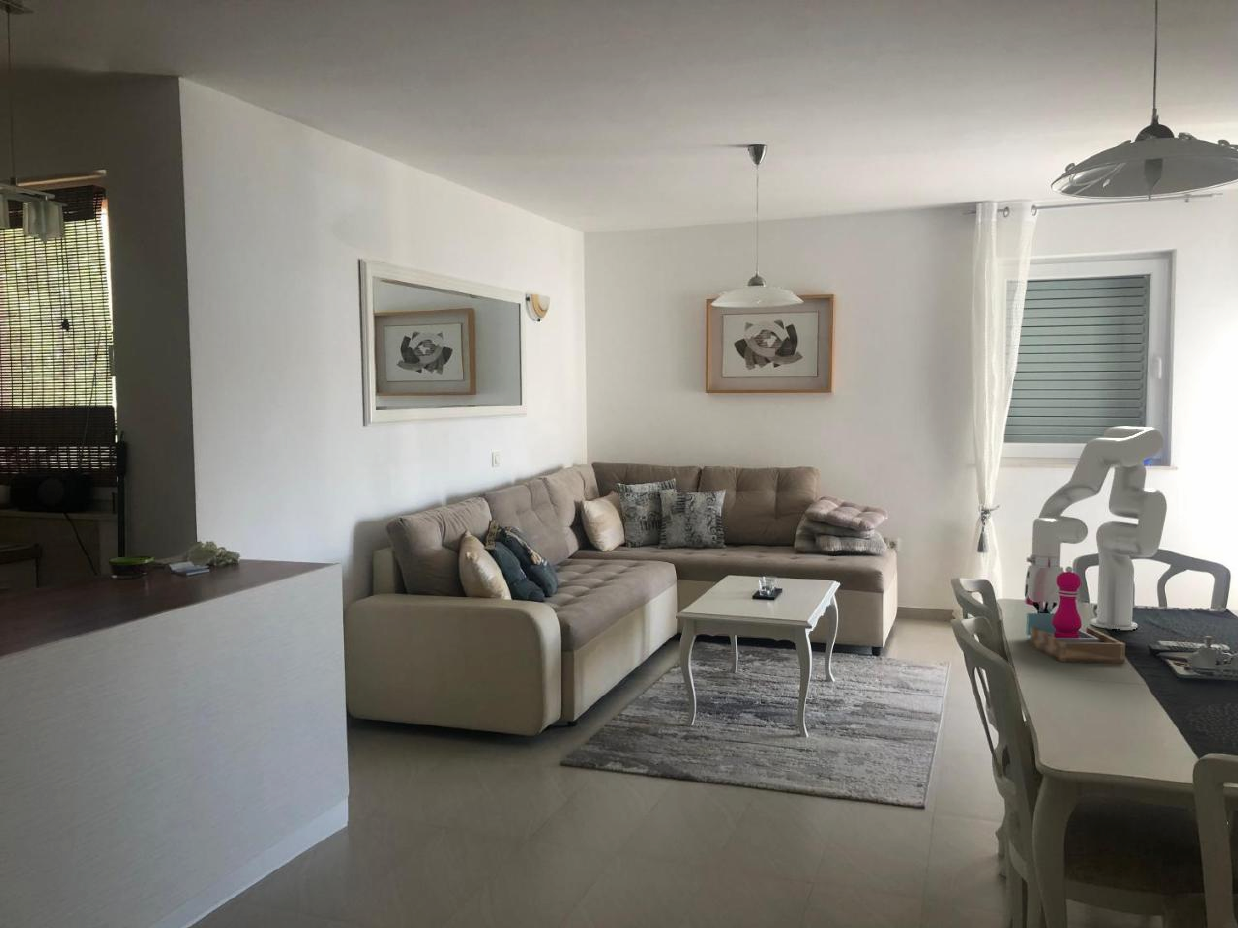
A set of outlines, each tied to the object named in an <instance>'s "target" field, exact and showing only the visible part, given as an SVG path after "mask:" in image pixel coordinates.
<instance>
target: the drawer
mask: <svg viewBox="0 0 1238 928" xmlns="http://www.w3.org/2000/svg"><path fill="white" fill-rule="evenodd" d="M1055 613H1056V612H1054V613H1053V612H1052V613H1051V612H1050V613H1037V612H1033V613H1032V612H1026V635H1027V636H1030V637H1031V631H1032V627H1037V628H1038V629H1040V630H1042V631H1044V632H1046V633H1048V634H1050V635H1052V636H1053V637H1054V632H1055V631H1057V630H1056V628H1055V627H1054V626H1053V618H1054V615H1055ZM1077 633H1079V638H1057V639H1059V640H1061V641H1063V642H1095V643H1100V639H1098V638H1096V637H1094V636H1092V635H1090V634H1088V633H1087V631H1084V630H1081V628H1080V629H1079V630H1078V631H1077Z"/></svg>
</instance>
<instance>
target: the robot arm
mask: <svg viewBox="0 0 1238 928" xmlns="http://www.w3.org/2000/svg"><path fill="white" fill-rule="evenodd" d="M1163 445H1164V436H1163V434H1162V433H1161V431H1160V430H1158V429H1156V428H1154V427H1149V426H1120V425H1119V426H1113V427H1109V428H1107V429H1106V430H1105V431H1104V433H1103V437H1096V438H1092V439H1090V440H1089V441H1088V442H1086V444H1085V446H1084V448H1083V450H1082V452H1081V454H1080V457H1079V459H1078V462H1077V464H1076V466H1075V468H1074V470H1073V473H1072V475H1071V478H1070V480H1069V481H1068V482H1067V483H1065V484H1064V485H1062V486H1061V487H1059V488H1058V489H1057V490H1056V491H1055V492H1054V493H1053V494H1052V495H1050V496H1049V497H1048V498H1047V500H1045V502H1044V504H1043V506H1042V508H1041V511H1040V513H1039V515H1038V517H1037V518H1036V519H1034V520H1033V521H1032V536H1031V554H1030V556H1029V557H1026V562H1027V563H1030V564H1029V565H1028V568H1027V572H1026V577H1025V583H1024V584H1025V585H1024V596H1025V599H1024V604H1026V605H1029V606H1033V608H1034V609H1035V610H1036V611H1037V612H1036V613H1051V612H1053V610H1054V609H1055V608H1056V607H1059V603H1060V595H1059V594H1058V593H1059V591H1058V590H1059V589H1060V588H1059V586H1058V585H1057V577H1058V576H1059V574H1061V573H1063V572H1065V571H1064V567H1063V566H1061V548H1062V547H1061V545H1062V544H1070V545H1075V544H1076V545H1077V544H1080V543H1082V542H1083V541H1084V540H1086V538H1087V537H1088V534H1089V527H1088V526H1087V524H1086V523H1085V521H1083V520H1081V519H1079V518H1076V517H1069V516H1062V514H1063V513H1064V512H1065V510H1067V508H1069V507H1071V506H1072V505H1074V504H1076V503H1078V502H1081V501H1084V500H1087V499H1089V498H1091V497H1094V496H1097V495H1098V494H1099V493H1100V492H1101V490H1102V488H1103V485H1104V483H1105V480H1106V479H1107V476H1108V473H1109V471H1110V469H1111V468H1114V475H1113V480H1112V485H1111V490H1110V495H1109V498H1108V499H1109V500H1108V510H1109V512H1110V514H1112V515H1113V516H1116V517H1118V518H1125V519H1133V520H1137V523H1133V522H1126V521H1118V520H1111V521H1109V520H1108V521H1105V522H1103V523H1102V524H1100V525H1099V527H1097V531H1096V532H1095V534H1096V535H1095V539H1096V547H1097V552H1098V573H1097V574H1098V576H1097V577H1098V578H1097V599H1096V601H1097V602H1096V609H1095V610H1094V612H1095V614H1096V618H1095V617H1094V618H1092V619H1091V620H1090V624H1091V625H1092V626H1093V627H1097V628H1100V629H1105V628H1106V629H1107V630H1112V629H1117V630H1116V631H1133V629H1135V630H1137V629H1138V628H1139V627H1138V626H1139V625H1138V623H1137V622H1134V621H1133V606H1134V585H1135V583H1134V582H1135V581H1134V580H1135V566H1134V564H1133V561H1132V559H1131V557H1136V558H1137V557H1138V558H1150V557H1152V556H1154V555H1155V554H1156V553H1157V552H1158V550H1159V547H1160V545H1161V540H1162V535H1163V531H1164V525H1165V520H1166V516H1167V510H1168V509H1167V508H1168V504H1167V499H1166V497H1165V494H1164V493H1163V492H1161V491H1160V490H1158V489H1156V488H1150V487H1145V485H1146V479H1147V468H1146V465H1145V461H1147V460H1149V459H1152V458H1153V457H1156V456H1157V455H1158V454H1159V453H1160V452H1161V450H1162V448H1163ZM1137 627H1138V628H1137ZM1136 628H1137V629H1136ZM1106 629H1105V630H1106ZM1118 629H1120V630H1118Z"/></svg>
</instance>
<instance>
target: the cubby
mask: <svg viewBox="0 0 1238 928" xmlns="http://www.w3.org/2000/svg"><path fill="white" fill-rule="evenodd" d="M1086 633H1088V634H1090V635H1092V636H1094V637H1096V638H1098V639H1100V643H1095V642H1063V641H1061V640H1059V639H1057V638H1055V637H1053V636H1052V635H1050V634H1048V633H1046V632H1044V631H1042V630H1040V629H1038V628H1037V627H1032V631H1031V636H1030V646H1031V647H1033V648H1035V649H1037V650H1039V651H1040V652H1042V653H1044V654H1046V655H1047V656H1049V657H1051V658H1053V659H1054V660H1055V661H1058V662H1059V663H1071V664H1072V663H1075V664H1076V663H1077V664H1078V663H1083V664H1085V663H1086V664H1094V663H1095V664H1125V660H1126V659H1125V656H1126V654H1125V653H1126V643H1125V642H1122V641H1120V640H1118V639H1116V638H1114V637H1112V636H1110V635H1107V634H1105V633H1103V632H1100V631H1099V630H1097V629H1095V628H1093V627H1086Z"/></svg>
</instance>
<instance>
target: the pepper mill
mask: <svg viewBox="0 0 1238 928" xmlns="http://www.w3.org/2000/svg"><path fill="white" fill-rule="evenodd" d="M1073 569H1074V568H1073V567H1072V566H1066V567H1065V571H1064V572H1063V573H1061V574H1059V576H1058V577H1057V585H1058V586H1059V588H1060V589H1059V590H1058V591H1059V593H1058V594H1059V595H1060V603H1059V606H1057V610H1056V611H1055V612H1054V613H1055V615H1054V618H1053V626H1054V627H1055V628H1056V630H1057V631H1055V632H1054V637H1055V638H1079V633H1077V631H1078V630H1079V629H1080V630H1081V628H1082V625H1083V624H1082V619H1081V616H1080V613H1079V612H1078V611H1079V610H1078V608H1077V597H1078V596H1079V591H1078V589H1079V588H1080V587H1081V583H1082V581H1081V578H1080V576H1079V575H1078V574H1076V573H1074V572H1073Z"/></svg>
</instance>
